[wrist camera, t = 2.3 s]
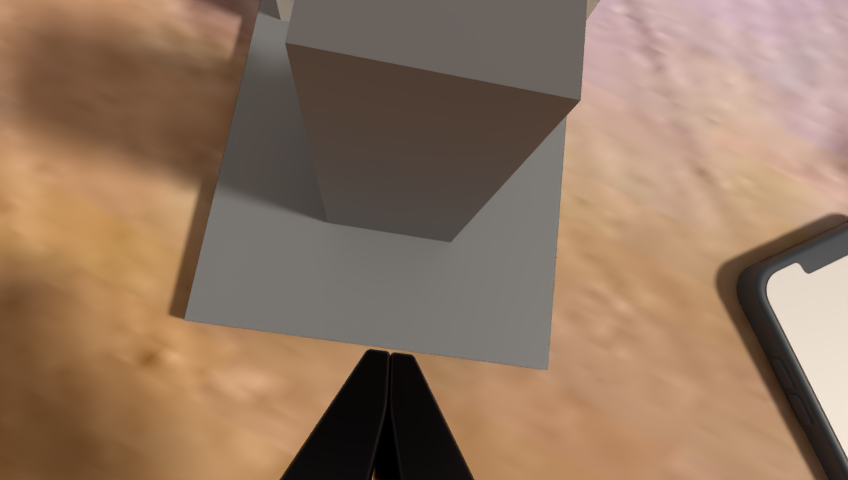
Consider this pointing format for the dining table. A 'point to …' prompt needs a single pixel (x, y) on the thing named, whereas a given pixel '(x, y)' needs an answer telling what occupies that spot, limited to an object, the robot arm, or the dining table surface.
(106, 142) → the dining table surface
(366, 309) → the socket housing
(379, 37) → the plug
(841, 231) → the smartphone
